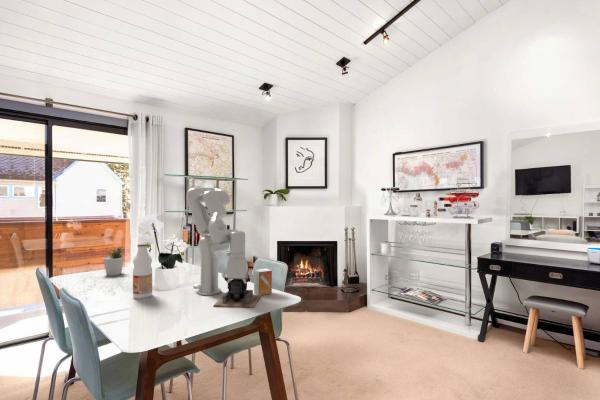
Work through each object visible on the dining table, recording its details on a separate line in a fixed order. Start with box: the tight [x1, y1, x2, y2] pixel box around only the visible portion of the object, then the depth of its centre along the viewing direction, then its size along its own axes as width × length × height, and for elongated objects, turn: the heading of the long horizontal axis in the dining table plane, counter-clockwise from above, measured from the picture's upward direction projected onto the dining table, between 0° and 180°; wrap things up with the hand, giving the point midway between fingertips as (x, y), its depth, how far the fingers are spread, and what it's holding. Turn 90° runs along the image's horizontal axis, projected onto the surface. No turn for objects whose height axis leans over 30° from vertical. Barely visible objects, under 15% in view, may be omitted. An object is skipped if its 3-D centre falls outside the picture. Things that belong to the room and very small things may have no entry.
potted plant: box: [102, 244, 126, 277], centre depth 233 cm, size 13×14×20 cm
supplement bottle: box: [230, 279, 244, 300], centre depth 173 cm, size 7×7×12 cm
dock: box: [212, 289, 262, 309], centre depth 175 cm, size 20×18×4 cm
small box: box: [253, 268, 273, 296], centre depth 189 cm, size 8×6×13 cm
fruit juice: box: [132, 243, 153, 299], centre depth 183 cm, size 9×9×28 cm
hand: (237, 290), depth 174 cm, fingers closed on supplement bottle, 6 cm apart
